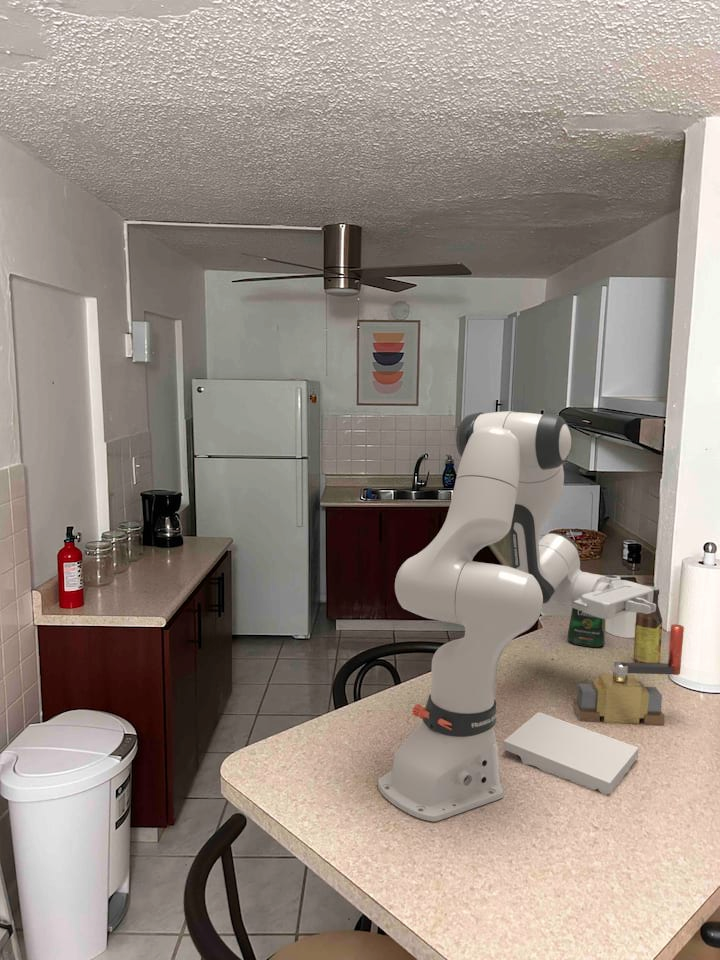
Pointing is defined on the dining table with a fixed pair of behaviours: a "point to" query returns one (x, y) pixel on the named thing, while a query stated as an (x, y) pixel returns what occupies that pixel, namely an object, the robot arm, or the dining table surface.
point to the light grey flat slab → (572, 752)
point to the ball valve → (618, 701)
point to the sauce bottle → (648, 634)
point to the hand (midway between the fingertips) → (652, 609)
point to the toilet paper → (622, 625)
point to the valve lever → (655, 668)
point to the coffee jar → (586, 629)
